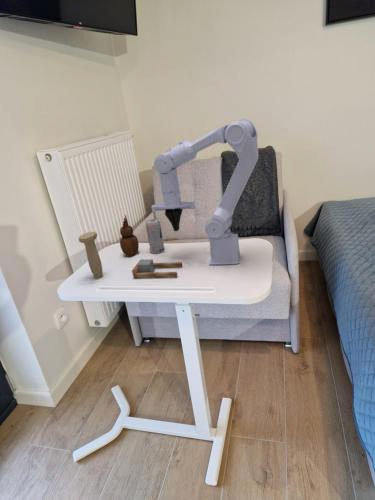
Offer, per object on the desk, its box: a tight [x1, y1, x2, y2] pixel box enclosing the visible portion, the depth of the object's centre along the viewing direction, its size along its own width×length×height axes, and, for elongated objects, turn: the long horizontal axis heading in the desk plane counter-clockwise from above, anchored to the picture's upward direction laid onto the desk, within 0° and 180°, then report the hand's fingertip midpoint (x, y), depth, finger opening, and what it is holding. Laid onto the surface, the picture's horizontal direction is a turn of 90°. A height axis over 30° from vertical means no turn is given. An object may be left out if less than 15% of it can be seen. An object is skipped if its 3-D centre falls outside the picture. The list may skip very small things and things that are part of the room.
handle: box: [78, 231, 104, 279], centre depth 108 cm, size 5×6×15 cm
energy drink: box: [145, 218, 165, 254], centre depth 122 cm, size 5×5×12 cm
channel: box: [131, 259, 183, 280], centre depth 107 cm, size 14×8×3 cm, turn 78°
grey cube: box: [136, 258, 156, 273], centre depth 107 cm, size 4×4×4 cm
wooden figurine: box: [119, 214, 140, 257], centre depth 122 cm, size 7×6×15 cm
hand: (176, 230), depth 112 cm, fingers closed
